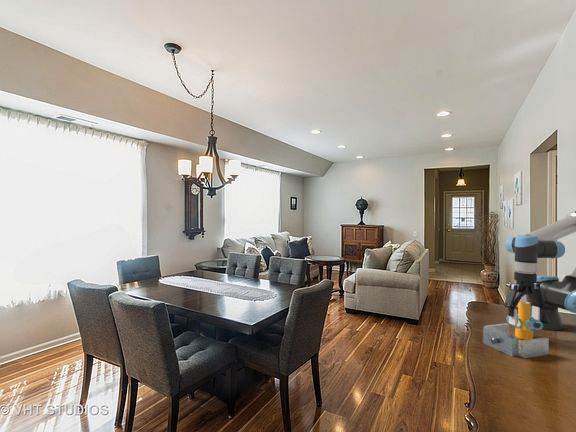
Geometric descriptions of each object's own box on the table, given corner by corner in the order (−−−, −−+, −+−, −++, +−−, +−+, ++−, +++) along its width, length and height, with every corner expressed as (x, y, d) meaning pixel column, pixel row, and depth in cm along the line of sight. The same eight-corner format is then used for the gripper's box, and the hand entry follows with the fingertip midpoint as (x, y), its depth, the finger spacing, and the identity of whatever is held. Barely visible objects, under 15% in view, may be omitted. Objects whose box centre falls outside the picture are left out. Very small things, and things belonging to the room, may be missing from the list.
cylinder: (547, 345, 121) (548, 307, 121) (517, 342, 123) (518, 305, 123) (529, 333, 133) (530, 299, 133) (503, 331, 135) (503, 297, 135)
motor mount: (507, 337, 128) (507, 322, 128) (548, 354, 113) (548, 337, 113) (474, 341, 124) (475, 325, 124) (513, 359, 108) (513, 341, 108)
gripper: (537, 269, 135) (536, 318, 135) (494, 271, 128) (493, 322, 128) (556, 272, 127) (555, 324, 128) (511, 274, 121) (510, 328, 121)
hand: (524, 323), depth 128 cm, fingers closed on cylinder, 12 cm apart
